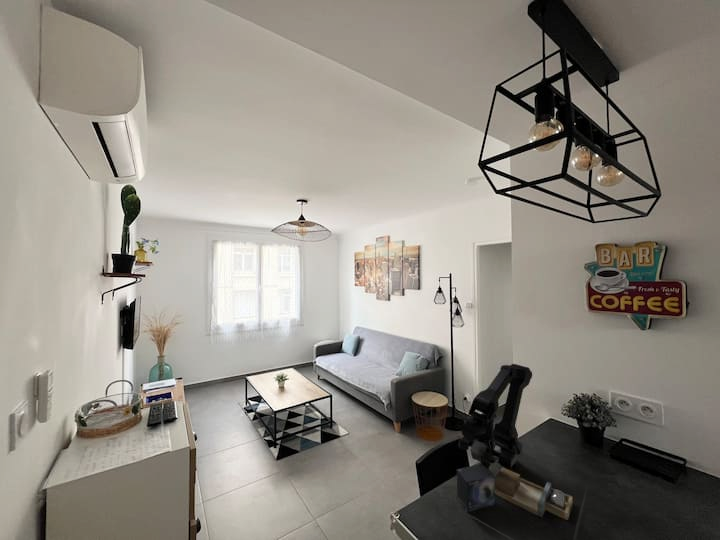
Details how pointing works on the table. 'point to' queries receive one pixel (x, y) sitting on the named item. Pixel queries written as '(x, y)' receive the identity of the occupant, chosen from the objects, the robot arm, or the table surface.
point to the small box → (475, 487)
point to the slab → (507, 482)
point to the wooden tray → (537, 499)
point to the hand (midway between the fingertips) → (486, 473)
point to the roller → (558, 499)
